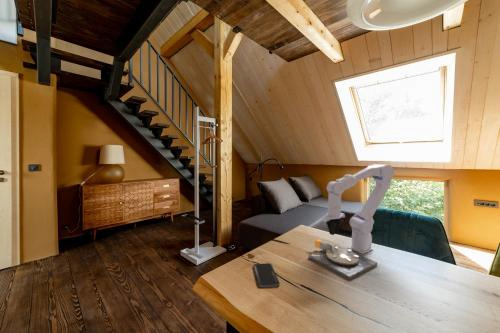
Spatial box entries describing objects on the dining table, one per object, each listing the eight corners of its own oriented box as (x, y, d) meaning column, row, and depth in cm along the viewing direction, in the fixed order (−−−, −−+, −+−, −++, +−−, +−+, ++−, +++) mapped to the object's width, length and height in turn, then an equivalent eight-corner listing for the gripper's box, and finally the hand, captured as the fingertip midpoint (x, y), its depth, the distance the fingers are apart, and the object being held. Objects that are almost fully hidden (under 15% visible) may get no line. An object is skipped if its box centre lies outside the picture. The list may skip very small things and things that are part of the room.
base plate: (335, 248, 108) (336, 244, 108) (377, 265, 91) (377, 262, 91) (308, 258, 97) (308, 254, 97) (349, 280, 80) (349, 276, 80)
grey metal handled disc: (324, 243, 109) (325, 236, 109) (364, 260, 92) (365, 252, 92) (307, 249, 102) (307, 242, 102) (346, 268, 85) (347, 260, 85)
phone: (258, 286, 75) (253, 264, 90) (258, 289, 75) (252, 266, 90) (280, 284, 76) (271, 263, 91) (280, 287, 76) (271, 265, 91)
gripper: (336, 203, 111) (335, 228, 112) (317, 206, 103) (316, 234, 104) (349, 205, 105) (347, 233, 106) (330, 209, 97) (329, 239, 98)
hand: (333, 233), depth 104 cm, fingers closed
